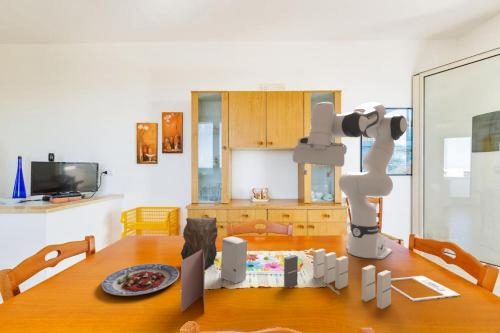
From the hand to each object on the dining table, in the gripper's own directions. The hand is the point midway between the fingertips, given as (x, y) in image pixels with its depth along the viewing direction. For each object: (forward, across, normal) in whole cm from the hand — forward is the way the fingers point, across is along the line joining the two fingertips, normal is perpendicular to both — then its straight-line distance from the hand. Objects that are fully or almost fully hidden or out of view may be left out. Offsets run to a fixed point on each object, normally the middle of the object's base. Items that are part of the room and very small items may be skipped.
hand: (316, 175), depth 105 cm
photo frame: (+36, -38, 0) cm, 53 cm away
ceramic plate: (+46, +54, +29) cm, 77 cm away
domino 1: (+40, +4, +13) cm, 42 cm away
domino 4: (+38, -13, +8) cm, 41 cm away
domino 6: (+38, -26, +16) cm, 48 cm away
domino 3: (+38, -9, +5) cm, 40 cm away
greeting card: (+44, +27, +35) cm, 62 cm away
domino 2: (+38, -5, +2) cm, 39 cm away
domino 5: (+38, -22, +14) cm, 46 cm away
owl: (+44, +43, +10) cm, 62 cm away
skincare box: (+42, +24, +15) cm, 51 cm away
